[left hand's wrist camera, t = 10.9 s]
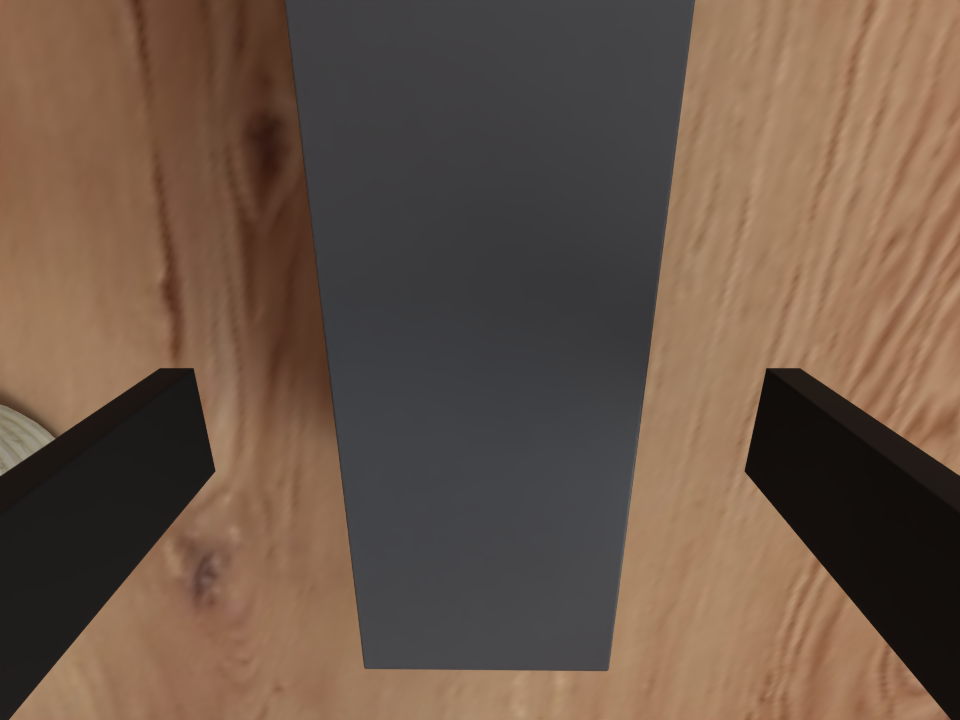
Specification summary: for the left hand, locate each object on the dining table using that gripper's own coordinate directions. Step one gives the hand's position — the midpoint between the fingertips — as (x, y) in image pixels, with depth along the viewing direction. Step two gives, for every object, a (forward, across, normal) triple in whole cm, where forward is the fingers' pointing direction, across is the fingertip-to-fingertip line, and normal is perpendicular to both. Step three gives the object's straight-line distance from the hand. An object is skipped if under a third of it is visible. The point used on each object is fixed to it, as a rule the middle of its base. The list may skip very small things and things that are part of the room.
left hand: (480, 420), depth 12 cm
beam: (+6, 0, -22) cm, 23 cm away
